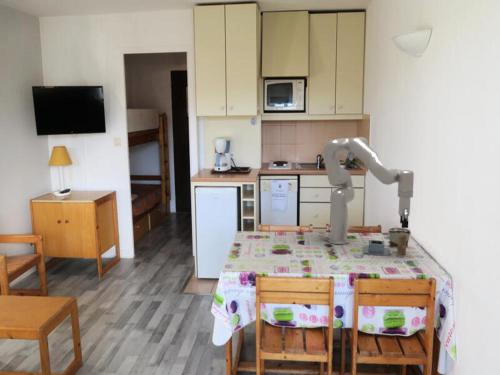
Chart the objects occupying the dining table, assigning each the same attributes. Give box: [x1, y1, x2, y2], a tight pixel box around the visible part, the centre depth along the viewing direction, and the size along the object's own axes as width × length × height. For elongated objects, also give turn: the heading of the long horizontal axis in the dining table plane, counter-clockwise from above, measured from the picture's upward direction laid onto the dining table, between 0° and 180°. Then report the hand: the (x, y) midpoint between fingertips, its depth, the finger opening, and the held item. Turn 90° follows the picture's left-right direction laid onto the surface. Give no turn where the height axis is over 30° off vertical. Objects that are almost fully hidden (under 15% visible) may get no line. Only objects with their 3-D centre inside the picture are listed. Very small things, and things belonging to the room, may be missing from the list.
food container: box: [387, 227, 412, 248], centre depth 248 cm, size 12×6×10 cm, turn 84°
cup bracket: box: [362, 239, 391, 257], centre depth 238 cm, size 14×12×5 cm
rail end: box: [396, 235, 407, 256], centre depth 234 cm, size 4×4×10 cm
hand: (404, 225), depth 232 cm, fingers open, 9 cm apart
